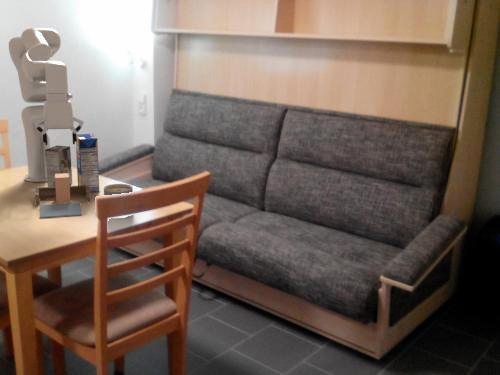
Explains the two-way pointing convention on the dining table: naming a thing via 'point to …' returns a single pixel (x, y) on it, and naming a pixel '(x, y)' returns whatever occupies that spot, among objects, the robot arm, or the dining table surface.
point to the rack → (51, 192)
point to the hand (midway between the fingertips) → (60, 144)
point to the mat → (60, 210)
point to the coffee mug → (117, 189)
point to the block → (62, 188)
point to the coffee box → (58, 163)
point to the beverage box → (87, 161)
